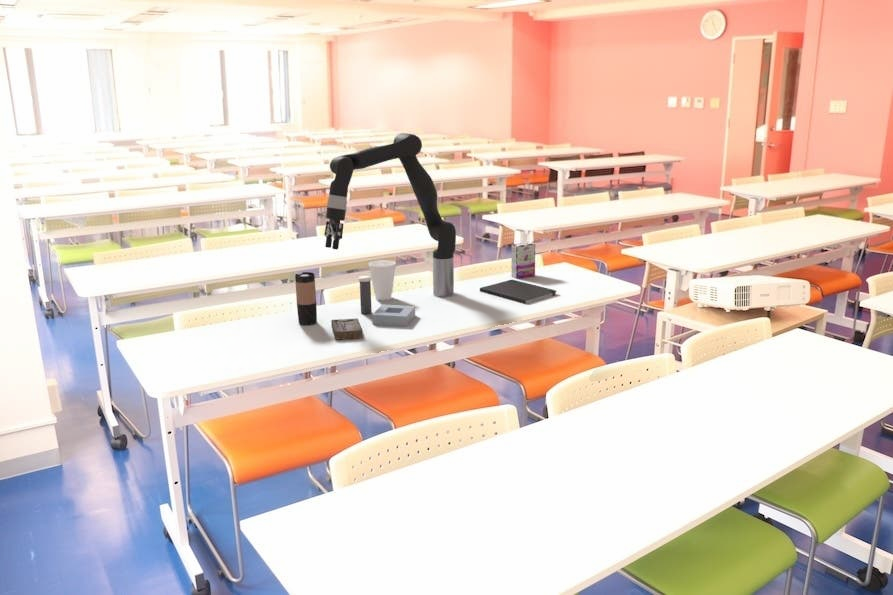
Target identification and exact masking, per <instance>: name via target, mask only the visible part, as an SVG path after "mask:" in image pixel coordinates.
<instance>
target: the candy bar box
mask: <svg viewBox="0 0 893 595" xmlns="http://www.w3.org/2000/svg"><path fill="white" fill-rule="evenodd" d="M535 275H536V243H535V242H532V241H527V242H526V241H525V242H521V243H519V242H518V243H513V244H511V277H512V278H514V279H515V280H516V279H523V278H528V277H535Z"/></svg>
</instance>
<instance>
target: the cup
mask: <svg viewBox="0 0 893 595" xmlns="http://www.w3.org/2000/svg"><path fill="white" fill-rule="evenodd" d="M368 266H369V274H370V277H371V283H372V284H371V285H372V289H373V294H374V295H375V300H377V301H389V300H391V299H392V294H393V289H394V279H395V270H396V261H393V260H386V259H385V260H384V259H383V260H374V261H370V262H368Z"/></svg>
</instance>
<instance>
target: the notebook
mask: <svg viewBox="0 0 893 595" xmlns="http://www.w3.org/2000/svg"><path fill="white" fill-rule="evenodd" d="M479 292H480V293H484V294H488V295H492V296H494V297H498V298H502V299H506V300H510V301H513V302H516V303H520V304H523V305H527V304H530V303H533V302H536V301H540V300H544V299H547V298H550V297H555V296H556V295H557V290H556V289H551V288H548V287H544V286H540V285H536V284H533V283H532V284H531V283H529V282H524V281H519V280H516V279H509V280H505V281H501V282H498V283H494V284H489V285H486V286H482V287H480V288H479Z"/></svg>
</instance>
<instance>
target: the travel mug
mask: <svg viewBox="0 0 893 595" xmlns="http://www.w3.org/2000/svg"><path fill="white" fill-rule="evenodd" d="M294 279H295V280H294V281H295V295H296V298H295V300H296V308H297V319H298V324H299V325H300V326H304V327H305V326H306V327H307V326H313V325H314V326H315V325H316V324H317V323H318V322H317V321H318V319H317V317H318V314H317V309H318V308H317V291H316V279H315V273H313V272H310V271H309V272H308V271H303V272H301V273H299V274H298V273H295V278H294Z"/></svg>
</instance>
